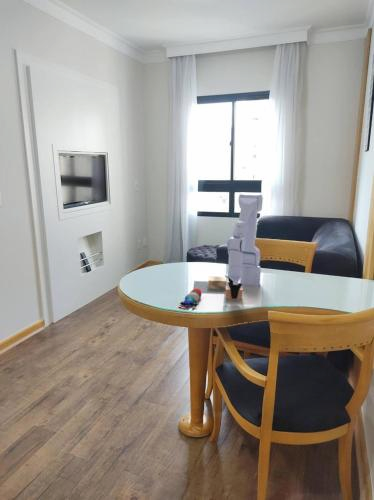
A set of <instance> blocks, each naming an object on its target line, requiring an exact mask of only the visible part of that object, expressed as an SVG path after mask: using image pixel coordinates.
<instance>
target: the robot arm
mask: <svg viewBox="0 0 374 500" xmlns="http://www.w3.org/2000/svg"><path fill="white" fill-rule="evenodd" d="M263 198H264V197H263V194H262V193H252V192H251V193H249V192H240V194H239V195H238V206H239V208H240V212H239V213H240V214H239V216H238V221H236V223H235V224H234V227H233V230H232V233H231V237H229V238H228V239H227V243H226V244H227V245H226V247H227V254H228V265H227V266H228V269H227V273H225V275H224V277H226V278H227V279H228V281H227V282H228V285H229V287H230V290H231V297H232V299H237V296H238V292H239V290H240V288H241V287H242V286H259V287H260V283H261V266H260V262H261V251H260V249H259V248H258V247H257V246H256V244H255V243H256V234H257V233H256V231H257V219H258V213H259V212H262V209H263V200H264V199H263Z"/></svg>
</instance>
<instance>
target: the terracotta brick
mask: <svg viewBox="0 0 374 500" xmlns="http://www.w3.org/2000/svg"><path fill="white" fill-rule="evenodd" d="M243 293H244V292H243V287H242V286H241V288H240V290H239V292H238V296H237V299H232V297H231V290H230V287H229V286H226V292H225V294H224V296H225V300H235V301H237V300H239V301H242V300H243Z"/></svg>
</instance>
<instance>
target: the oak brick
mask: <svg viewBox="0 0 374 500" xmlns="http://www.w3.org/2000/svg"><path fill="white" fill-rule="evenodd" d="M226 278H227V277H225V276H210V275H209V276H208V282H209V286H208V289H226V282H227V279H226Z"/></svg>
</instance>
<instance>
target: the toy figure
mask: <svg viewBox="0 0 374 500" xmlns="http://www.w3.org/2000/svg"><path fill="white" fill-rule="evenodd" d="M201 297H202V293H201V290H200V289H194V290H193V289H192V290H191V291H190V292H189V293H188V294H186V295H185V297H184V301H181V302H180V303H179V306H181V307H185V308H186V307H187V308H189V307H197V305H198V303H197V302H198V301H199V300H200V299H201ZM180 304H182V305H180Z"/></svg>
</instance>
